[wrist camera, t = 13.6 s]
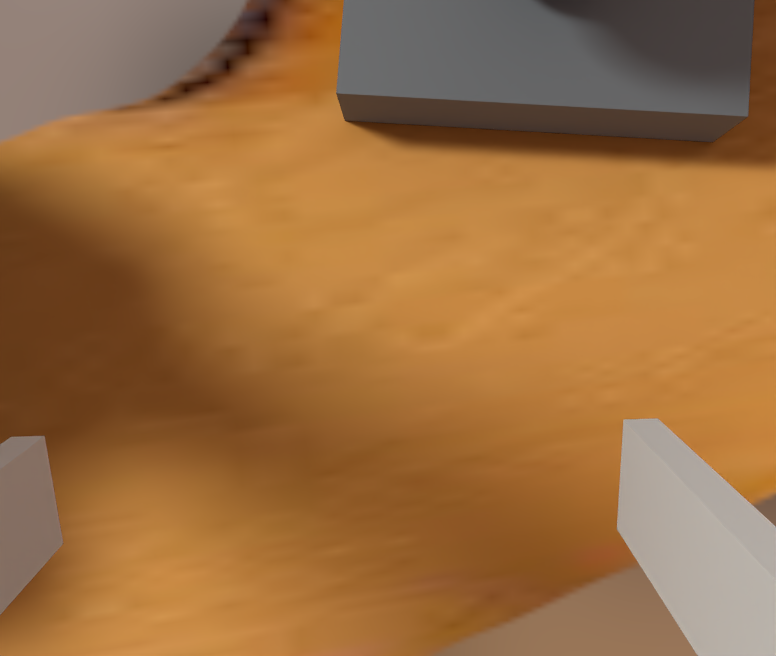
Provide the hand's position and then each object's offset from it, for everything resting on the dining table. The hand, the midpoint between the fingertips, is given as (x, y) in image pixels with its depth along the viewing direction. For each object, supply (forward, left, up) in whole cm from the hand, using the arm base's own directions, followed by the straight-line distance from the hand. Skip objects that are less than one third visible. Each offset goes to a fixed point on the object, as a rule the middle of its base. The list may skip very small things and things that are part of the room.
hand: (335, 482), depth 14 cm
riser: (+7, +26, -23) cm, 36 cm away
